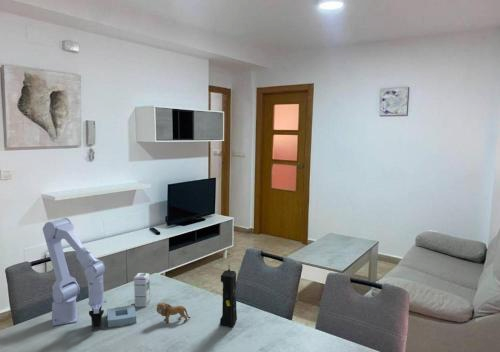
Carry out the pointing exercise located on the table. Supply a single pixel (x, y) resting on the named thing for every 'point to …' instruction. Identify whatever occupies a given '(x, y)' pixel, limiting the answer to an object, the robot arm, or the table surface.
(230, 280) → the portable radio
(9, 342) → the table surface
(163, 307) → the lion figurine
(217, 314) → the table surface
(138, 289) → the syrup box
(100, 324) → the plug
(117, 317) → the socket plate
